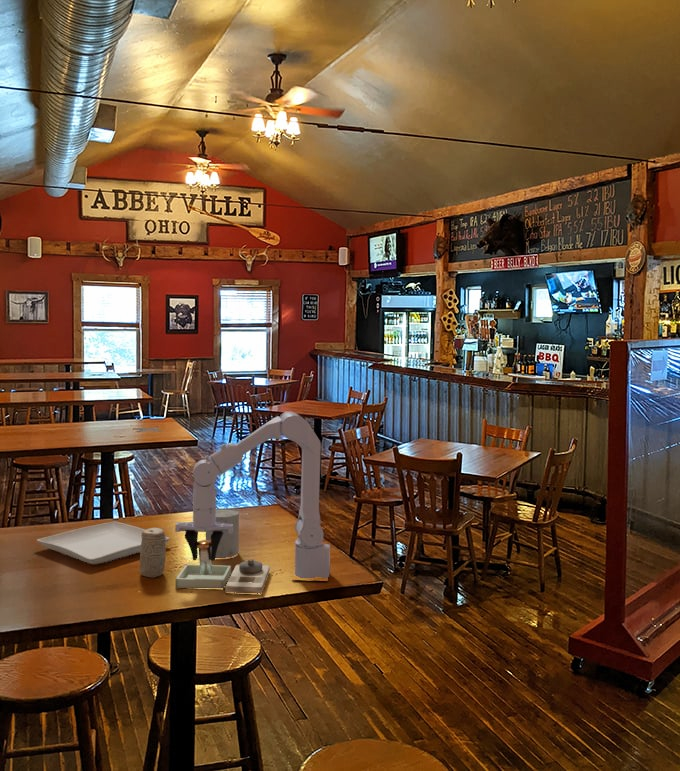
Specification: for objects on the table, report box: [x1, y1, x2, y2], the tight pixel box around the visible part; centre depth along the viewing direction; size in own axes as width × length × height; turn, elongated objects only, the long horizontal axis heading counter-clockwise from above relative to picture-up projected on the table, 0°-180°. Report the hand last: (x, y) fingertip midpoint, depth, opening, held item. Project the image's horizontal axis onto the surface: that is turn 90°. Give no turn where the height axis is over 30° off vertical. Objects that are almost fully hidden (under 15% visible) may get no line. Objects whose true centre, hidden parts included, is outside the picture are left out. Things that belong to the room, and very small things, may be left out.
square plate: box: [36, 520, 171, 565], centre depth 214 cm, size 27×27×4 cm
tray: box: [175, 563, 232, 590], centre depth 189 cm, size 12×11×2 cm
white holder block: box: [224, 558, 271, 594], centre depth 189 cm, size 9×16×5 cm, turn 178°
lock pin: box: [195, 539, 213, 575], centre depth 189 cm, size 4×4×8 cm
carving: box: [139, 527, 167, 579], centre depth 193 cm, size 6×8×12 cm
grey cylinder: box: [205, 507, 240, 558], centre depth 211 cm, size 10×10×12 cm
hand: (204, 559), depth 189 cm, fingers closed on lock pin, 4 cm apart
